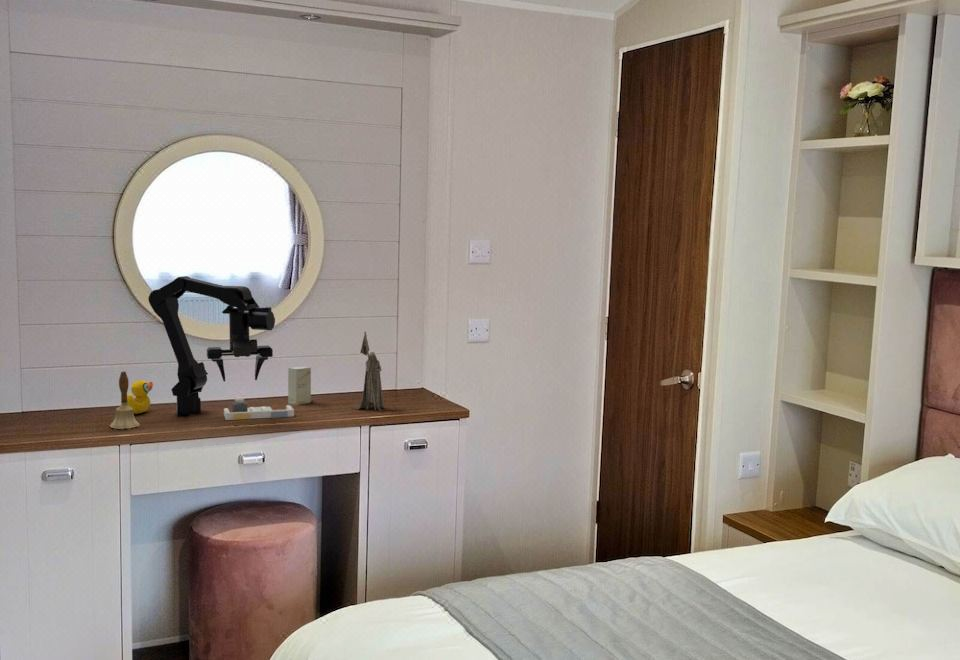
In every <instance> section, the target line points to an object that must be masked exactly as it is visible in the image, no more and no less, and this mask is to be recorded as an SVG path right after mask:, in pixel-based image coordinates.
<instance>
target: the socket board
mask: <svg viewBox="0 0 960 660" xmlns="http://www.w3.org/2000/svg"><path fill="white" fill-rule="evenodd" d="M254 407H255V406H249V408H250V411H249V412H230V410H229V408H227V407H226V408H225V407H224V408H223V416H224V418H225V420H226V421H232V420H233V421H235V420H236V421H237V420H252V419H267V418H268V419H269V418H272V419H273V418H276V419H277V418H289V417H290V418H291V417H295V409H294V408H293V406H292V405H291V404H287V405H286V406H285V409H272V410H267V409H266V407H267V406H265V405H264V406H260V407H261V411H256V410H255V408H254Z"/></svg>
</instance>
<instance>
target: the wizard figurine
mask: <svg viewBox="0 0 960 660" xmlns="http://www.w3.org/2000/svg"><path fill="white" fill-rule="evenodd" d="M367 336H368V335H367V331H364V335H363V339H362V342H361V343H362V344H361V348H360V351H359V353H360V354H363V355H365V356H366V357H367V360H366V361H365V373H364V374H365V375H364V382H363V390H362V391H363V392H362V399H361V403H360V405H359V406H356V407H354V408H357V407H358V409H357V410H361V408H362V409H365V410H369V409H374V410H375V411H377V409H378V411H380V412H381V411H382V409H384V408H386V407H385V406H384V399H383V389H382V380H381V371H382V367H381V362H380V361H379V360H378V358H377V356H376V353H375V352H374V351H371V352H370V346H369V342H368V338H367ZM369 352H370V353H369Z"/></svg>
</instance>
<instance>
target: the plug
mask: <svg viewBox="0 0 960 660" xmlns="http://www.w3.org/2000/svg"><path fill="white" fill-rule="evenodd" d="M234 399H235V400H234V401H232V403H231V405H232V406H231V407H232V408H231V410H232V412H247V408H248V403H247V401H245V397H236V398H234Z"/></svg>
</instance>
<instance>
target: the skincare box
mask: <svg viewBox="0 0 960 660" xmlns="http://www.w3.org/2000/svg"><path fill="white" fill-rule="evenodd" d="M311 368H312V367H310V366H304V365H300V366H294V367H288V370H287V375H288V376H287V377H288V379H287V382H288V386H287V387H288V388H287V391H288V392H287V396H288V397H287V399H288V400H287V403H288V405H295V406H301V405H305V404H309V403H311V402H312V379H311V378H312V377H311V376H312V375H311V374H312V372H311V371H312V369H311Z"/></svg>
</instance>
